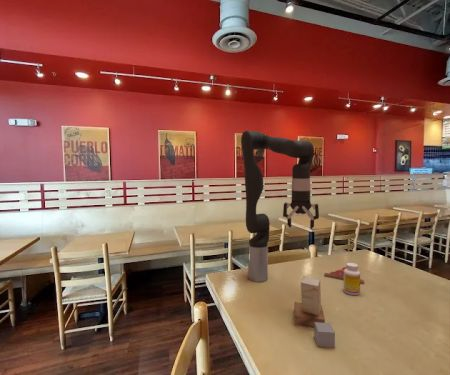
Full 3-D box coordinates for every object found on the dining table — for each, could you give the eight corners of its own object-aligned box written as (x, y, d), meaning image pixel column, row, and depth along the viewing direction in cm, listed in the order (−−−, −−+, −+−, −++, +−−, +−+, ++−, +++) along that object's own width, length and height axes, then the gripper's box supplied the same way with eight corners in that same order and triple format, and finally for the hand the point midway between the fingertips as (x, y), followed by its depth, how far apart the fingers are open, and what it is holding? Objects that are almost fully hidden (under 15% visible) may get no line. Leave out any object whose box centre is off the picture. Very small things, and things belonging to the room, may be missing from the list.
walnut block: (294, 326, 92) (294, 315, 92) (294, 311, 102) (294, 301, 101) (324, 330, 89) (324, 319, 89) (321, 315, 99) (321, 304, 99)
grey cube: (318, 346, 81) (318, 331, 80) (314, 336, 86) (314, 322, 85) (334, 347, 80) (334, 332, 80) (329, 337, 85) (330, 323, 85)
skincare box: (301, 311, 94) (299, 282, 92) (304, 303, 98) (302, 275, 95) (319, 316, 91) (318, 286, 88) (321, 307, 95) (320, 278, 92)
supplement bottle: (361, 296, 112) (362, 267, 111) (345, 295, 113) (346, 266, 112) (357, 289, 118) (357, 262, 118) (341, 288, 120) (342, 261, 119)
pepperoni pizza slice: (323, 273, 133) (331, 261, 150) (323, 277, 133) (330, 265, 150) (364, 281, 123) (367, 268, 140) (364, 286, 123) (367, 272, 140)
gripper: (282, 189, 106) (281, 228, 107) (318, 190, 100) (318, 231, 101) (284, 188, 113) (284, 225, 114) (319, 189, 107) (318, 227, 108)
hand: (300, 227), depth 108 cm, fingers open, 8 cm apart
